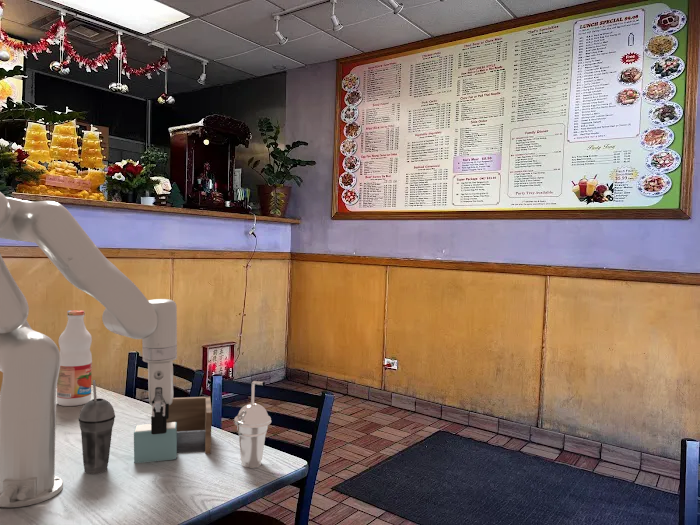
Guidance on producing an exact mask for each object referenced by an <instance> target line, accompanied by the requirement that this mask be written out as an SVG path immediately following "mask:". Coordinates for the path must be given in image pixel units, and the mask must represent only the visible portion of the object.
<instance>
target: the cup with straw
mask: <svg viewBox="0 0 700 525" xmlns="http://www.w3.org/2000/svg"><path fill="white" fill-rule="evenodd" d="M256 385H257V386H265V385H266V382H265V381H259V380H258V381H257V380H253V381H252V382H251V389H250V390H251V394H250V395H251V396H250V397H251V398H250V403H247V404H246V405H244V406H242V407H241V408H240V410H239V411H238V414H237V415H236V416H235V417H234V419H233V424H234V425H235V426H236V427H237V428H236V430H237V434H238V439H239V440H238V441H239V452H240V453H239V454H240V456H239V457H240V461H241V466H242V467H244V468H248V469H254V468H258V467H261V465H262V460H263V455H264V448H265V441H266V435H267V432H268V427H269V425H271V423H272V418H271V416H270V415H269V414H268V411H267V409H266V408H265V407H264V406H263V405H261V404H259V403H255V392H256V390H255V388H256V387H255V386H256Z"/></svg>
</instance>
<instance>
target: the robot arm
mask: <svg viewBox="0 0 700 525" xmlns="http://www.w3.org/2000/svg"><path fill="white" fill-rule="evenodd" d="M0 239H4V240H9V241H17V242H26V243H34V244H36V245H37V246H38V248H39V249H40V250H41V251H42V252H43V254H45V256H46V257H47V258H48V259H49V261H51V263H52V264H53V266H55V267H56V269H57V270H58V271H59V273H60V274H62V276H63V277H64V278H65V280H67V281H68V282H69V283H70V284H71V285H73V286H74V287H75V288H77V289H78V290H80V291H82V292H84V293H86V294H87V295H89V296H90V297H92V298H94V299H95V300H96V301H98V302H99V303H100V304H101V305H102V306H103V307H104V310H103V311H102V312H103V313H102V315H101V317H102V318H101V321H102V324H103V325H104V327H105V328H106V329H107V330H108V331H109V332H111V333H113V334H116V335H119V336H124V337H126V338H131V339H134V340H141V341H142V342H141V343H142V348H141V350H142V361H143V362H144V363H147V380H148V382H147V384H148V385H147V386H148V402H149V405H150V407H152V411H151V416H150V419H151V420H150V424H151V433H152V434H164V433H166V432H167V419H168V418H169V405H171V404H172V402H173V398H174V366H173V365H174V364H173V363H174V362H173V361H176V360H177V359H178V327H177V326H178V310H177V309H178V308H177V304H176V301H174V300H173V299H168V298H154V299H148V298H147V297H146V296H145V294H144V293H143V292H142V291H141V289H139V287H138V286H137V285H136V284H135V283H134V282H133V281H132V280H131V279H130V278H129V277H128V276H126V274H124V272H122V270H120V269H119V268H118V267H117V266H116V265H115V264H114V263H112V262H111V261H110V260H109V259H108V258H107V257H106V256H105V255H104V254H103V253H102V251H101V250H100V249H99V247H98V246H97V245H96V244H95V243H94V241H93V240H92V239H91V238H90V235H88V233H87V232H86V231H85V230H84V228H83V227H82V226H81V225H80V223H79V222H78V221H77V219H76V218H75V217H74V216H73V215H72V213H71V212H70V211H69V210H68V209H67V208H66V207H65V206H64V205H62V204H61V203H59V202H56V201H53V200H40V201H33V200H32V201H30V200H24V199H23V200H22V199H19V198H13V197H9V196H5V194H4V193H2V192H1V191H0ZM29 312H30V307H29V304H28V300H27V298H26V296H25V295H24V292H23V291H22V290H21V289H20V287H19V286H18V283H17V282H16V280H15V278H14V276H13V275H12V273H11V272H10V270H9V268H8V266H7V265H6V263H5V261H4V258H3V257H2V254H1V253H0V372H1V373H2V382H1V387H0V508H20V507H21V508H22V507H27V506H33V505H36V504H40V503H42V502H45V501H47V500H51V499H52V498H53V497H55V496H57V495H58V494H60V492H61V491H62V490H63V489H64V480H63V479H62V478H61V477H60V476H57V475H55V473H56V472H55V468H56V467H55V465H56V464H55V462H56V422H57V421H56V419H57V418H56V416H57V415H56V413H57V411H56V406H57V381H58V376H59V370H60V362H61V357H60V348H59V347H58V345H57V344H56V342H55V341H54V340H53V339H52V338H51V337H50V336H48V335H46V334H44V333H42V332H39V331H37V330H33V329H32V327H31V325H30V324H29V321H28V320H27V319H28V317H29Z"/></svg>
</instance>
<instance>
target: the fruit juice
mask: <svg viewBox="0 0 700 525" xmlns="http://www.w3.org/2000/svg"><path fill="white" fill-rule="evenodd" d="M85 316H86V312H85V310H79V309H78V310H74V309H73V310H67V312H66V317H67V322H66V325H65V328H64V330H63V331H62V332H61V334H60V336H59V338H58V346H59V347H58V348H59V352H60V357H61V362H60V370H59V376H58V381H57V389H56V404H57V405H58V406H63V407H74V406H75V407H76V406H82V405H83V406H84V405H85V404H86V403H87V402H89V401H91V400H92V380H93V378H92V375H93V374H92V372H93V371H92V369H93V366H92V364H93V356H92V355H93V354H92V351H91V346H92V342H93V339H92V338H93V336H92V334H91V333H90V332H89V330H87V327H86V324H85V319H84V318H85Z"/></svg>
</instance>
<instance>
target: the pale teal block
mask: <svg viewBox="0 0 700 525" xmlns="http://www.w3.org/2000/svg"><path fill="white" fill-rule="evenodd" d="M177 454H178V453H177V422H169V423H167V432H166V433H164V434H152V433H151V423H148V424H147V423H146V424H136V426H135V428H134V431H133V459H134V461H133V462H134V464H138V463H141V464H142V463H151V462H152V463H153V462H160V461H162V462H164V461H170V460H177Z"/></svg>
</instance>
